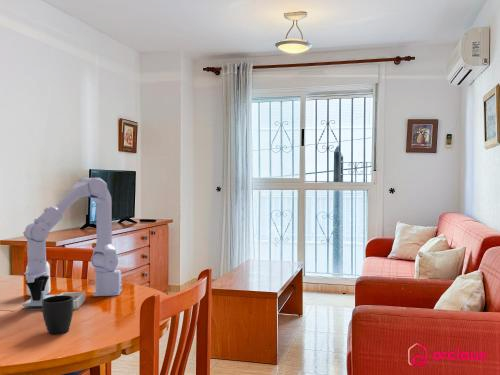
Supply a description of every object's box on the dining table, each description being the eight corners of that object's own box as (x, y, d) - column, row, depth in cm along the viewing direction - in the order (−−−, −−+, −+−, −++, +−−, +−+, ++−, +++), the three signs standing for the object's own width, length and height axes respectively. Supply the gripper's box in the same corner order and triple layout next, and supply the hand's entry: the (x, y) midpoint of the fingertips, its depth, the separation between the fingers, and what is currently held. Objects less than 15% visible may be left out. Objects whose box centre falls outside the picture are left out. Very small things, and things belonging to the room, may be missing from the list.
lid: (60, 296, 172) (60, 284, 172) (49, 305, 160) (49, 292, 160) (35, 297, 171) (35, 285, 171) (22, 306, 159) (22, 293, 159)
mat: (59, 299, 172) (59, 298, 172) (48, 309, 160) (48, 308, 160) (36, 300, 172) (36, 299, 172) (23, 310, 159) (23, 309, 159)
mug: (72, 321, 146) (71, 291, 146) (74, 333, 135) (73, 300, 135) (43, 325, 143) (42, 294, 143) (43, 338, 132) (42, 304, 132)
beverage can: (54, 291, 183) (53, 260, 183) (43, 297, 175) (42, 265, 175) (34, 291, 184) (33, 260, 184) (22, 297, 176) (21, 264, 176)
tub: (85, 299, 171) (85, 291, 171) (77, 309, 159) (77, 300, 159) (62, 300, 170) (62, 292, 170) (52, 310, 158) (52, 301, 158)
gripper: (31, 255, 167) (33, 294, 168) (16, 263, 153) (17, 305, 153) (52, 254, 168) (53, 293, 168) (39, 262, 154) (40, 304, 154)
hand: (38, 299), depth 161 cm, fingers closed on lid, 2 cm apart
